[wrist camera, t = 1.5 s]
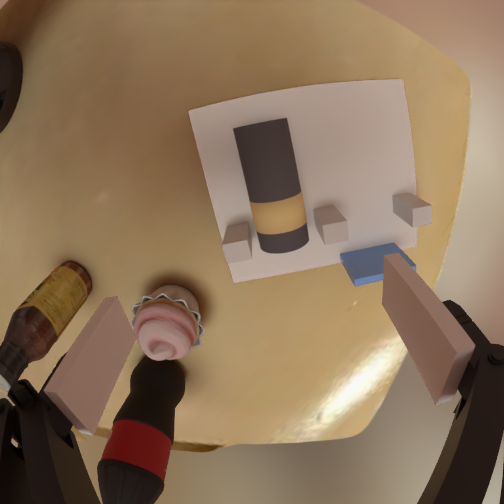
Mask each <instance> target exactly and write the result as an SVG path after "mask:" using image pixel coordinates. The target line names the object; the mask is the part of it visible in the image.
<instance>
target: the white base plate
mask: <svg viewBox="0 0 504 504" xmlns="http://www.w3.org/2000/svg"><path fill="white" fill-rule="evenodd" d="M188 112H189V116H190V120H191V125H192V129H193V133H194V136H195V140H196V144H197V148H198V152H199V156H200V160H201V164H202V168H203V172H204V175H205V179H206V183H207V187H208V191H209V194H210V198H211V202H212V206H213V209H214V213H215V217H216V220H217V224H218V228H219V231H220V235H221V238H222V248H223V251H224V255H225V258H226V262H227V264H229V267H230V270H231V274H232V277H233V281H234V283H237V282H243V281H249V280H254V279H260V278H265V277H270V276H276V275H281V274H286V273H291V272H297V271H302V270H307V269H312V268H317V267H322V266H327V265H332V264H337V263H342V264H343V266H344V267H345V269H346V271H347V273H348V275H349V277H350V279H351V280H352V282H353V284H354V286H360V285H364V284H368V283H373V282H377V281H381V280H383V276H384V255H389V254H394V253H399V254H400V255H401V256H402V257H403V258H404V259H405V260H406V261H407V263H408V264H409V265H410V266H411V267H412V268H413V269H414V270H415V271H416V265H415V264H414V263H413V261H412V260H411V259H410V258H409V257H408V256H407V255H406V254H405V253H404V252H403V251H402V250H403V249H407V248H412V247H416V246H417V227H419V226H424V225H429V224H432V205H430V204H429V203H427V202H425V201H424V200H422V199H420V198H418V197H417V195H416V176H415V163H414V152H413V143H412V134H411V126H410V119H409V113H408V107H407V101H406V95H405V90H404V85H403V80H402V79H387V80H363V81H348V82H336V83H326V84H317V85H309V86H302V87H295V88H288V89H282V90H276V91H271V92H265V93H260V94H255V95H250V96H245V97H241V98H236V99H232V100H228V101H223V102H219V103H215V104H211V105H208V106H204V107H200V108H197V109H193V110H189V111H188ZM282 118H287V120H288V125H289V130H290V135H291V140H292V144H293V149H294V155H295V160H296V165H297V170H298V176H299V181H300V187H301V190H302V195H303V201H304V207H305V213H306V219H307V221H306V222H307V228H308V235H309V241H308V243H307V244H306V245H305V246H303V247H302V248H300V249H297V250H295V251H291V252H287V253H280V254H272V253H266V252H264V251H262V250H261V248H260V244H259V240H258V235H257V231H256V229H255V224H254V220H253V216H252V211H251V207H250V203H249V196H248V192H247V187H246V183H245V179H244V174H243V170H242V166H241V161H240V157H239V153H238V149H237V144H236V140H235V136H234V132H233V128H237V127H241V126H246V125H250V124H255V123H260V122H265V121H270V120H276V119H282Z"/></svg>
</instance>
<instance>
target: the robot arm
mask: <svg viewBox="0 0 504 504" xmlns="http://www.w3.org/2000/svg"><path fill="white" fill-rule="evenodd" d="M21 80H22V63H21V57H20V54H19V52H18V50H17V48H16V47H15V46H14V45H12V44H10V43H6V42H0V132H1V131H2V130H3V129H4V127H5V126H6V124H7V123H8V121H9V119H10V117H11V115H12V113H13V111H14V108H15V106H16V103H17V100H18V96H19V92H20V87H21ZM382 305H383V307H384V308H385V310H386V312H387V313H388V315H389V317H390V319H391V320H392V322H393V324H394V326H395V327H396V329H397V331H398V333H399V335H400V336H401V338H402V340H403V342H404V344H405V346H406V347H407V349H408V351H409V353H410V355H411V356H412V359H413V361H414V362H415V364H416V366H417V368H418V370H419V372H420V374H421V376H422V378H423V380H424V382H425V384H426V386H427V388H428V390H429V392H430V394H431V397H432V399H433V401H434V403H435V405H439V404H442V403H444V402H446V401H449V400H451V399H453V398H454V396H455V393H456V391H457V389H458V390H459V392H460V394H461V396H462V397H461V399H460V401H459V403H458V405H457V407H456V408H455V410H454V413H456V414H455V417H454V420H453V423H452V426H451V429H450V431H449V434H448V437H447V440H446V442H445V445H444V447H443V450H442V453H441V455H440V457H439V460H438V462H437V464H436V466H435V469H434V471H433V473H432V475H431V477H430V480H429V482H428V484H427V486H426V488H425V490H424V492H423V494H422V496H421V497H420V499H419V501H418V503H417V504H482V502H483V499H484V497H485V494H486V491H487V488H488V485H489V482H490V480H491V476H492V473H493V470H494V467H495V463H496V460H497V456H498V452H499V448H500V444H501V440H502V436H503V431H504V346H502V345H499V344H491V343H490V342H489V341H488V339H487V338H486V337H485V335H484V334H483V333H482V332H481V330H480V329H479V328H478V327H477V325H476V324H475V323H474V322H472V319H471V318H470V317H469V316H468V315H467V314H466V312H465V311H464V310H463V309H462V308H461V306H460V305H458V304H456V303H455V302H453V301H451V300H447V301H444V302H441V301H440V299H439V298H438V297H437V296H436V295H435V293H434V292H433V291H432V290H431V289H430V287H429V286H428V285H427V284H426V283H425V282H424V280H423V279H422V278H421V277H420V276H419V275H418V274H417V273H416V271H415V270H414V269H413V268H412V267H411V266H410V265H409V264H408V263H407V261H406V260H405V259H404V258H403V257H402V256H401V255H400V254H399V253H394V254H389V255H384V276H383V297H382ZM136 338H137V337H136V335H135V333H134V331H133V329H132V327H131V325H130V323H129V321H128V319H127V317H126V315H125V313H124V310H123V308H122V306H121V304H120V302H119V299H118V297H117V296H115V297H107V298H105V299H104V300H103V302H102V303H101V304H100V306H99V307H98V309H97V310H96V311H95V313H94V314H93V316H92V317H91V318H90V320H89V321H88V323H87V324H86V326H85V327H84V328H83V330H82V331H81V333H80V334H79V336H78V337H77V339H76V340H75V342H74V343H73V345H72V346H71V348H70V349H69V351H68V352H67V353H65V354H64V355H63V356H62V357H61V358H60V360H59V361H58V363H57V365H56V367H55V368H54V369H53V371H52V373H51V374H50V376H49V377H48V379H47V380H46V382H45V384H44V385H43V387H42V389H41V390H40V392H39V394H38V392H37V391H36V390H35V389H34V387H33V386H32V385H31V383H30V382H29V381H28V380H26V379H22V380H19V381H17V382H16V383H14V384H13V385H12V386H11V387H10V389H9V391H8V395H7V396H8V397H9V398H10V399H11V400H12V402H13V403H14V404H15V405H16V406H13V405H12V404H11V403H10V402H9V401H8V400H7V399H6V398H2V399H0V504H101V503H100V501H99V498H98V496H97V494H96V492H95V489H94V487H93V485H92V482H91V480H90V478H89V475H88V472H87V470H86V467H85V464H84V462H83V459H82V456H81V453H80V450H79V447H78V444H77V441H76V438H75V435H74V433H73V432H72V431H71V428H72V426H73V425H74V426H75V428H76V429H77V430H78V431H79V432H80V433H84V434H90V435H94V433H95V431H96V428H97V426H98V423H99V421H100V418H101V416H102V414H103V411H104V409H105V406H106V404H107V402H108V399H109V397H110V395H111V392H112V390H113V388H114V386H115V383H116V381H117V379H118V377H119V374H120V372H121V370H122V368H123V366H124V363H125V361H126V359H127V357H128V355H129V353H130V351H131V348H132V346H133V344H134V342H135V340H136ZM12 438H13V439H14V440H15V441H16V442H17V443H18V447H15V446H14V445H13V444H12V443H11V439H12ZM500 504H504V464H503V479H502V489H501V497H500Z"/></svg>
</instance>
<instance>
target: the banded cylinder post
mask: <svg viewBox="0 0 504 504" xmlns="http://www.w3.org/2000/svg"><path fill="white" fill-rule="evenodd" d="M233 132H234V136H235V140H236V144H237V149H238V153H239V157H240V161H241V166H242V170H243V174H244V179H245V183H246V187H247V192H248V196H249V203H250V207H251V211H252V216H253V220H254V224H255V229H256V231H257V235H258V240H259V244H260V248H261V250H262V251H264V252H266V253H272V254H280V253H287V252H291V251H295V250H297V249H300V248H302V247H303V246H305V245H306V244H307V243H308V241H309V235H308V228H307V222H306V221H307V219H306V213H305V207H304V201H303V195H302V190H301V187H300V181H299V176H298V170H297V165H296V160H295V155H294V149H293V144H292V140H291V135H290V130H289V125H288V120H287V118H282V119H276V120H270V121H265V122H260V123H255V124H250V125H246V126H241V127H237V128H233Z"/></svg>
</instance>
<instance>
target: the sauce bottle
mask: <svg viewBox="0 0 504 504" xmlns="http://www.w3.org/2000/svg"><path fill="white" fill-rule="evenodd" d="M90 292H91V282H90V278H89V276H88V274H87V273H86V272H85V270H84V269H83V268H81V266H79V265H77V264H75V263H73V262H66V263H63V264H62V265H60V266H59V267H57V268H56V269H55V270H54V271H53V272H52V273H51V274H50V275H49V276H48V277H47V278H46V279H45V280H44V281H43V282H42V283H41V284H40V285H39V286H38V287H37V288H36V289H35V290H34V291H33V292H32V293H31V294H30V295H29V296H28V297H27V299H26V300H25V301H24V302H23V303H22V304H21V305H20V306H19V307H18V308H17V310H16V311H15V312H14V313H13V315H12V318H11V320H10V323H9V326H8V329H7V332H6V335H5V338H4V341H3V342H2V345H1V346H0V388H1V389H3V390H5V391H7V392H8V391H9V389H10V387H11V386H12V385H13V384H14V383H16V382H17V381H18V379H19V377H20V376H21V374H22V373H23V371H24V369H26V368H27V367H28V364H29V363H31V362H32V361H36V360H40V359H42V358H43V357H44V356H45V355H46V354H47V353H48V352H49V350H50V348H51V347H52V346H53V344H54V343H55V342H56V341H57V340H58V338H59V337H60V336H61V334H62V333H63V331H64V330H65V328H66V327H67V326H68V324H69V323H70V321H71V320H72V319H73V317H74V316H75V314H76V313H77V312H78V310H79V309H80V308H81V306H82V305H83V304H84V302H85V301H86V300H87V297H88V295H89V294H90Z"/></svg>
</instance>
